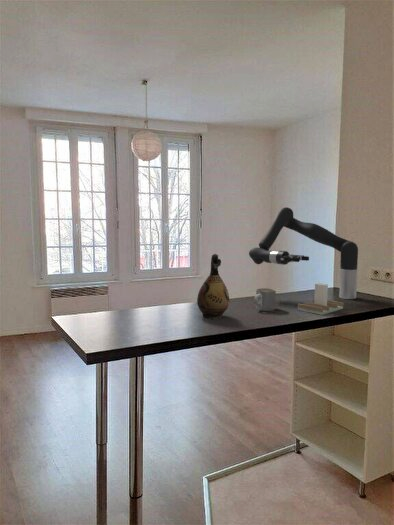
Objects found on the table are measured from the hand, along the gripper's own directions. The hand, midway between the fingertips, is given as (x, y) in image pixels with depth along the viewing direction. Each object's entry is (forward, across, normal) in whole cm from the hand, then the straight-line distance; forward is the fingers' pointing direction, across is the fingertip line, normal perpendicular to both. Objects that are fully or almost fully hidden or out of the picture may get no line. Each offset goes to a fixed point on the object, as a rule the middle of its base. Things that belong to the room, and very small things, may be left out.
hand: (304, 259), depth 214 cm
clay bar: (+10, 0, +24) cm, 26 cm away
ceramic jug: (-16, -52, +25) cm, 60 cm away
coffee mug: (-10, -22, +25) cm, 35 cm away
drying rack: (+10, 0, +25) cm, 27 cm away
